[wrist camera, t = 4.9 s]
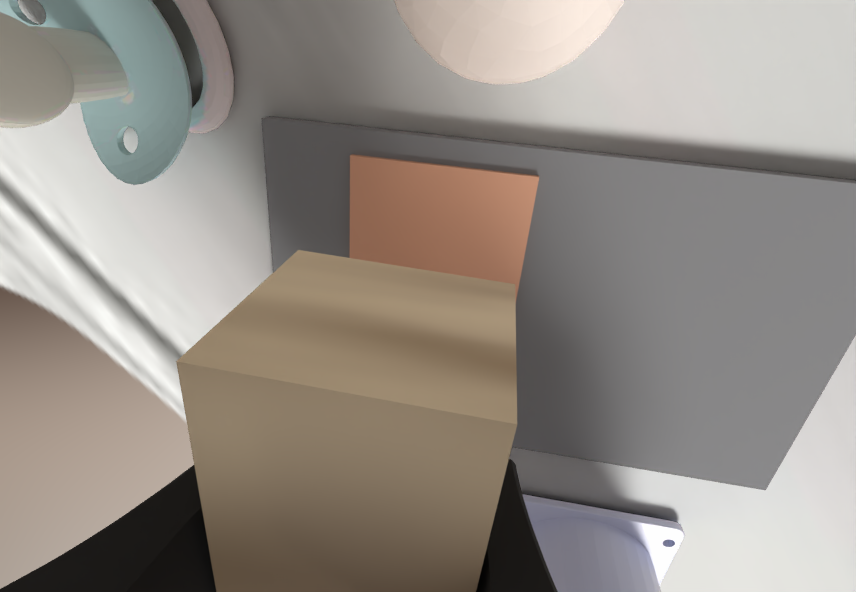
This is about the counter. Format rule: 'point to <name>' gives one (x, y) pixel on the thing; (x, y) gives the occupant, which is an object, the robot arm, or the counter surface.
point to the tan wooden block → (353, 428)
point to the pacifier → (115, 76)
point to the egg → (506, 34)
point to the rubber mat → (632, 291)
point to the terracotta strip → (440, 217)
